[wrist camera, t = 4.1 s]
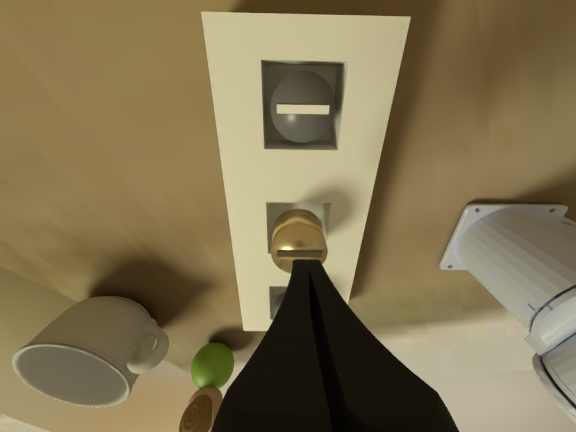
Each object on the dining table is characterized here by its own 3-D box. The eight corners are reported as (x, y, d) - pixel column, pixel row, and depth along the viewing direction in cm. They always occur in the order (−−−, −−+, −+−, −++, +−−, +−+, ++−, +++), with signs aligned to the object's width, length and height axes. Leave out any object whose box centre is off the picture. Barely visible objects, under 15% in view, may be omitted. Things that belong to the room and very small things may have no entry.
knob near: (330, 74, 16) (339, 71, 13) (324, 134, 17) (332, 143, 15) (272, 73, 15) (269, 69, 13) (273, 134, 17) (271, 142, 15)
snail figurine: (250, 346, 33) (233, 468, 22) (216, 359, 34) (185, 478, 24) (226, 326, 30) (195, 452, 20) (191, 341, 32) (145, 465, 22)
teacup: (99, 337, 31) (46, 409, 24) (58, 281, 26) (-25, 352, 19) (198, 336, 31) (174, 407, 24) (179, 279, 26) (140, 350, 19)
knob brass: (324, 208, 18) (330, 230, 15) (319, 249, 20) (325, 275, 17) (272, 208, 17) (270, 230, 15) (273, 249, 19) (271, 275, 17)
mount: (385, 30, 15) (410, 16, 12) (336, 305, 28) (342, 331, 25) (218, 27, 15) (201, 11, 12) (248, 304, 28) (243, 330, 25)
